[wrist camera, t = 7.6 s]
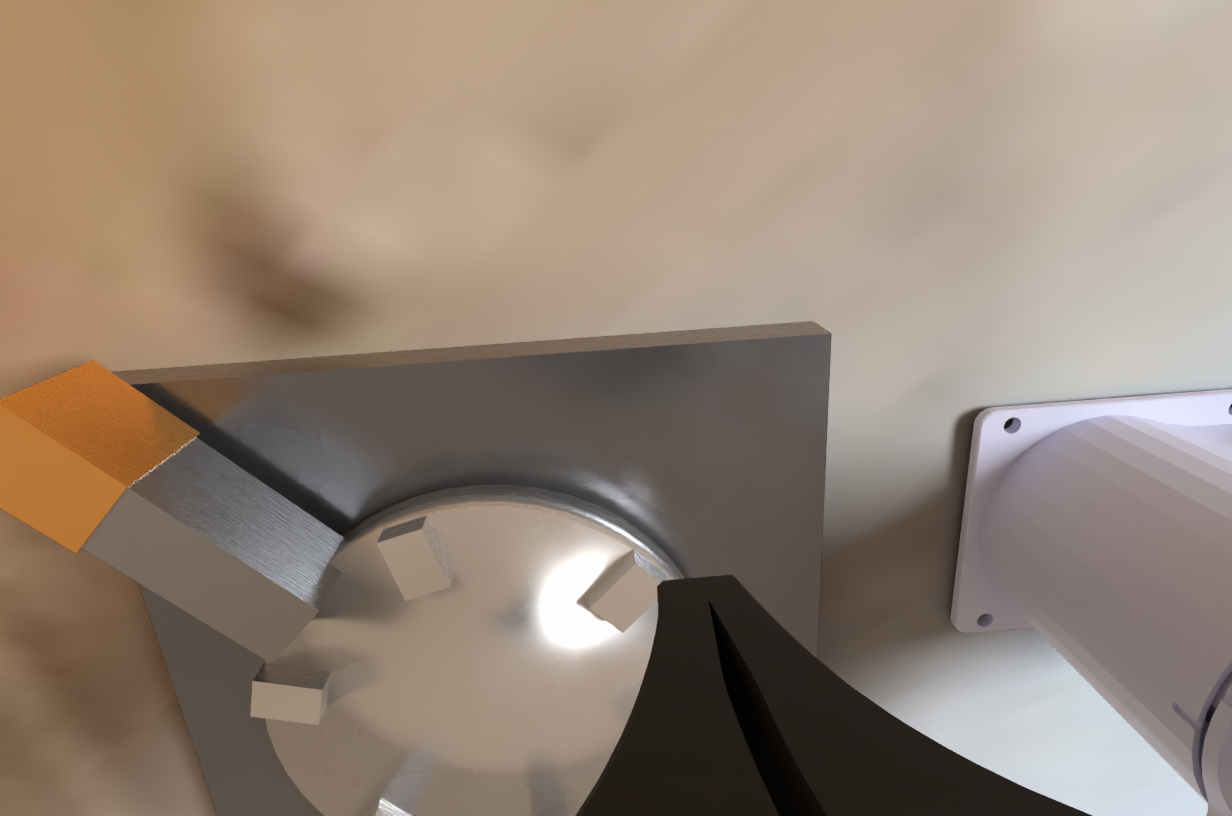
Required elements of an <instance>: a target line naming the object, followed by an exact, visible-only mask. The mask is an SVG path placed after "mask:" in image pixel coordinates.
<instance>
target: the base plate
mask: <svg viewBox="0 0 1232 816" xmlns="http://www.w3.org/2000/svg"><path fill="white" fill-rule="evenodd" d="M830 355H831V333H830V332H828V331H827V330H825V329H824V328H823V327H821V326H820V325H818V324H817V323H815V322H814V321H813V322H799V323H785V324H771V325H758V326H744V327H730V328H716V329H702V330H688V331H675V332H661V333H647V334H633V335H619V336H605V337H592V338H578V339H564V340H550V341H536V342H522V343H509V344H495V345H481V346H467V347H453V348H439V349H426V350H412V351H398V352H384V353H370V354H356V355H342V356H329V357H315V358H301V359H287V360H273V361H259V362H246V363H232V364H218V365H204V366H190V367H176V368H163V369H149V370H135V371H121V372H112V373H113V374H114V375H116V376H117V377H119V378H120V379H122V380H123V381H125V382H126V383H128V384H129V385H131V386H132V387H133V388H135V389H136V390H138V391H139V392H141V393H142V394H144V395H145V396H147V397H148V398H150V399H151V400H152V401H154V402H155V403H157V404H158V405H160V406H161V407H163V408H164V409H166V410H167V411H169V412H170V413H171V414H173V415H174V416H176V417H177V418H179V419H180V420H182V421H183V422H185V423H186V424H188V425H189V426H190V427H192V428H193V429H195V430H196V431H198V432H199V433H200V434H199V436H198V437H197V438H198V439H200V440H201V441H202V442H204V443H205V444H207V445H208V446H210V447H211V448H213V449H214V450H216V451H217V452H219V453H220V454H222V455H223V456H224V457H226V458H227V459H229V460H230V461H232V462H233V463H235V464H236V465H238V466H239V467H241V468H242V469H244V470H245V471H246V472H248V473H249V474H251V475H252V476H254V477H255V478H257V479H258V480H260V481H261V482H263V483H264V484H266V485H267V486H268V487H270V488H271V489H273V490H274V491H276V492H277V493H279V494H280V495H282V496H283V497H285V498H286V499H288V500H289V501H291V502H292V503H293V504H295V505H296V506H298V507H299V508H301V509H302V510H304V511H305V512H307V513H308V514H310V515H311V516H313V517H314V518H315V519H317V520H318V521H320V522H321V523H323V524H324V525H326V526H327V527H329V528H330V529H332V530H333V531H335V532H336V533H337V534H339V535H340V536H342V537H343V536H344V535H345V534H347V533H348V532H350V531H351V530H352V529H354V528H355V527H356V526H358V525H359V524H360V523H362V522H363V521H365V520H366V519H368V518H370V517H372V516H374V515H376V514H377V513H379V512H381V511H383V510H385V509H387V508H388V507H390V506H393V505H396V504H398V503H401V502H403V501H406V500H409V499H411V498H414V497H416V496H420V495H424V494H428V493H432V492H436V491H440V490H443V489H448V488H456V487H464V486H472V485H517V486H526V487H535V488H541V489H546V490H550V491H554V492H559V493H563V494H567V495H570V496H573V497H576V498H579V499H581V500H584V501H587V502H590V503H592V504H595V505H597V506H599V507H601V508H603V509H605V510H607V511H609V512H611V513H613V514H615V515H617V516H619V517H621V518H622V519H624V520H625V521H627V522H628V523H630V524H631V525H633V526H634V527H636V528H637V529H639V530H640V531H641V532H643V533H644V534H646V535H647V536H648V537H649V538H650V539H651V540H652V541H653V542H654V543H655V544H657V545H658V546H659V547H660V548H661V549H662V550H663V551H664V552H665V553H666V554H667V555H668V556H669V558H670V559H671V560H672V561H673V563H674V564H675V565H676V566H677V567H678V569H679V570H680V571H681V572H682V574H683V576H684V577H685V579H686V578H698V577H710V576H722V575H733V576H734V577H735V578H737V579H738V580H739V581H740V582H741V584H742V585H743V586H744V587H745V588H746V589H747V590H748V591H749V592H750V593H751V594H752V596H753V597H754V598H755V599H756V600H757V601H758V602H759V603H760V604H761V605H762V606H763V607H764V608H765V609H766V610H767V611H768V612H769V613H770V614H771V615H772V616H773V618H774V619H775V620H776V621H778V622H779V623H780V624H781V625H782V626H783V627H784V628H785V629H786V630H787V631H788V632H789V633H790V634H791V635H792V636H793V637H794V638H795V639H796V640H797V641H798V642H799V643H801V644H802V645H803V646H804V647H805V648H806V649H807V650H808V651H809V652H810V653H811V654H813V655H814V656H815V657H816V658H817V646H818V624H819V602H820V579H821V557H822V534H823V512H824V489H825V467H826V445H827V422H828V400H829V377H830ZM138 584H139V583H138ZM139 587H140V590H141V592H142V595H143V598H144V601H145V604H146V607H147V610H148V613H149V616H150V619H151V622H152V625H153V628H154V631H155V634H156V637H157V640H158V643H159V646H160V649H161V652H162V655H163V658H164V661H165V663H166V666H167V669H168V672H169V675H170V678H171V681H172V684H173V687H174V690H175V693H176V696H177V699H178V702H179V705H180V708H181V711H182V714H183V717H184V720H185V723H186V726H187V729H188V731H189V734H190V737H191V740H192V743H193V746H194V749H195V752H196V755H197V758H198V761H199V764H200V767H201V770H202V773H203V776H204V779H205V782H206V785H207V788H208V791H209V794H210V797H211V800H212V802H213V805H214V808H215V811H216V814H217V816H324V815H323V814H322V813H321V812H319V811H318V810H317V809H316V808H315V806H314V805H313V804H312V803H311V802H310V801H309V800H308V799H307V798H306V797H305V796H304V795H303V794H302V793H301V792H300V790H299V789H298V788H297V786H296V785H295V784H294V782H293V781H292V780H291V778H290V777H289V776H288V774H287V773H286V771H285V769H284V767H283V765H282V763H281V761H280V760H279V758H278V756H277V754H276V752H275V750H274V747H273V744H272V741H271V738H270V736H269V733H268V730H267V725H266V720H265V718H258V717H250V713H251V697H252V681H253V679H254V678H255V676H256V674H257V673H258V671H259V670H260V668H261V666H262V665H263V663H265V659H263V658H262V657H260V656H258V655H257V654H255V653H253V652H252V651H250V650H248V649H247V648H245V647H244V646H242V645H240V644H239V643H237V642H235V641H234V640H232V639H230V638H229V637H227V636H225V635H224V634H222V633H220V632H219V631H217V630H215V629H214V628H212V627H210V626H209V625H207V624H206V623H204V622H202V621H201V620H199V619H197V618H196V617H194V616H192V615H191V614H189V613H187V612H186V611H184V610H182V609H181V608H179V607H177V606H176V605H174V604H172V603H171V602H169V601H167V600H166V599H164V598H163V597H161V596H159V595H158V594H156V593H154V592H153V591H151V590H149V589H148V588H146V587H144V586H143V585H141V584H139Z"/></svg>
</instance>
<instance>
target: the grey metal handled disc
mask: <svg viewBox="0 0 1232 816" xmlns="http://www.w3.org/2000/svg"><path fill="white" fill-rule="evenodd" d="M199 434H200V433H199V432H198V431H196V430H195V429H193V428H192V427H190V426H189V425H188V424H186V423H185V422H183V421H182V420H180V419H179V418H177V417H176V416H174V415H173V414H171V413H170V412H169V411H167V410H166V409H164V408H163V407H161V406H160V405H158V404H157V403H155V402H154V401H152V400H151V399H150V398H148V397H147V396H145V395H144V394H142V393H141V392H139V391H138V390H136V389H135V388H133V387H132V386H131V385H129V384H128V383H126V382H125V381H123V380H122V379H120V378H119V377H117V376H116V375H114V374H113V373H112V372H110V371H109V370H107V369H106V368H104V367H103V366H101V365H100V364H98V363H97V362H95V361H94V360H93V361H90V362H88V363H86V364H83V365H81V366H78V367H76V368H74V369H71V370H69V371H66V372H64V373H62V374H59V375H57V376H54V377H52V378H49V379H47V380H45V381H42V382H40V383H37V384H35V385H33V386H30V387H28V388H25V389H23V390H21V391H18V392H16V393H13V394H11V395H9V396H6V397H4V398H1V399H0V508H1V509H3V510H4V511H6V512H8V513H9V514H11V515H13V516H14V517H16V518H18V519H19V520H21V521H23V522H24V523H26V524H28V525H29V526H31V527H33V528H34V529H36V530H38V531H39V532H41V533H43V534H44V535H46V536H48V537H49V538H51V539H53V540H54V541H56V542H58V543H59V544H61V545H63V546H64V547H66V548H68V549H69V550H71V551H73V552H74V553H77V552H78V551H80V550H81V549H83V550H85V551H87V552H88V553H90V554H91V555H93V556H95V557H96V558H98V559H100V560H101V561H103V562H105V563H106V564H108V565H110V566H111V567H113V568H115V569H116V570H118V571H120V572H121V573H123V574H125V575H126V576H128V577H129V578H131V579H133V580H134V581H136V582H138V583H139V584H141V585H143V586H144V587H146V588H148V589H149V590H151V591H153V592H154V593H156V594H158V595H159V596H161V597H163V598H164V599H166V600H167V601H169V602H171V603H172V604H174V605H176V606H177V607H179V608H181V609H182V610H184V611H186V612H187V613H189V614H191V615H192V616H194V617H196V618H197V619H199V620H201V621H202V622H204V623H206V624H207V625H209V626H210V627H212V628H214V629H215V630H217V631H219V632H220V633H222V634H224V635H225V636H227V637H229V638H230V639H232V640H234V641H235V642H237V643H239V644H240V645H242V646H244V647H245V648H247V649H248V650H250V651H252V652H253V653H255V654H257V655H258V656H260V657H262V658H263V659H265V663H263V665H262V666H261V668H260V670H259V671H258V673H257V674H256V676H255V678H254V679H253V681H252V697H251V713H250V717H258V718H265V720H266V725H267V730H268V733H269V736H270V738H271V741H272V744H273V747H274V750H275V752H276V754H277V756H278V758H279V760H280V761H281V763H282V765H283V767H284V769H285V771H286V773H287V774H288V776H289V777H290V778H291V780H292V781H293V782H294V784H295V785H296V786H297V788H298V789H299V790H300V792H301V793H302V794H303V795H304V796H305V797H306V798H307V799H308V800H309V801H310V802H311V803H312V804H313V805H314V806H315V808H316V809H317V810H318V811H319V812H321V813H322V814H323V815H324V816H576V814H577V813H578V811H579V809H580V808H581V806H582V805H583V803H584V802H585V800H586V798H587V797H588V795H589V794H590V792H591V791H592V789H593V787H594V786H595V784H596V783H597V781H598V779H599V777H600V776H601V774H602V772H603V770H604V768H605V766H606V765H607V763H608V761H609V759H610V757H611V755H612V753H613V751H614V749H615V747H616V745H617V743H618V741H619V739H620V737H621V735H622V732H623V730H624V728H625V726H626V723H627V721H628V719H629V716H630V714H631V711H632V709H633V706H634V704H635V701H636V699H637V696H638V693H639V690H640V687H641V684H642V681H643V678H644V674H645V671H646V668H647V665H648V662H649V658H650V654H651V650H652V645H653V641H654V636H655V632H656V626H657V619H658V600H657V586H658V585H659V584H660V583H661V582H662V581H663V580H674V579H685V577H684V576H683V574H682V572H681V571H680V570H679V569H678V567H677V566H676V565H675V564H674V563H673V561H672V560H671V559H670V558H669V556H668V555H667V554H666V553H665V552H664V551H663V550H662V549H661V548H660V547H659V546H658V545H657V544H655V543H654V542H653V541H652V540H651V539H650V538H649V537H648V536H647V535H646V534H644V533H643V532H641V531H640V530H639V529H637V528H636V527H634V526H633V525H631V524H630V523H628V522H627V521H625V520H624V519H622V518H621V517H619V516H617V515H615V514H613V513H611V512H609V511H607V510H605V509H603V508H601V507H599V506H597V505H595V504H592V503H590V502H587V501H584V500H581V499H579V498H576V497H573V496H570V495H567V494H563V493H559V492H554V491H550V490H546V489H541V488H535V487H526V486H517V485H472V486H464V487H456V488H448V489H443V490H440V491H436V492H432V493H428V494H424V495H420V496H416V497H414V498H411V499H409V500H406V501H403V502H401V503H398V504H396V505H393V506H390V507H388V508H387V509H385V510H383V511H381V512H379V513H377V514H376V515H374V516H372V517H370V518H368V519H366V520H365V521H363V522H362V523H360V524H359V525H358V526H356V527H355V528H354V529H352V530H351V531H350V532H348V533H347V534H345V535H344V536H343V537H342V536H340V535H339V534H337V533H336V532H335V531H333V530H332V529H330V528H329V527H327V526H326V525H324V524H323V523H321V522H320V521H318V520H317V519H315V518H314V517H313V516H311V515H310V514H308V513H307V512H305V511H304V510H302V509H301V508H299V507H298V506H296V505H295V504H293V503H292V502H291V501H289V500H288V499H286V498H285V497H283V496H282V495H280V494H279V493H277V492H276V491H274V490H273V489H271V488H270V487H268V486H267V485H266V484H264V483H263V482H261V481H260V480H258V479H257V478H255V477H254V476H252V475H251V474H249V473H248V472H246V471H245V470H244V469H242V468H241V467H239V466H238V465H236V464H235V463H233V462H232V461H230V460H229V459H227V458H226V457H224V456H223V455H222V454H220V453H219V452H217V451H216V450H214V449H213V448H211V447H210V446H208V445H207V444H205V443H204V442H202V441H201V440H200V439H198V438H197V437H198V436H199Z"/></svg>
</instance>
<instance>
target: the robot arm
mask: <svg viewBox="0 0 1232 816" xmlns="http://www.w3.org/2000/svg"><path fill="white" fill-rule="evenodd" d="M1231 404H1232V389H1224V390H1211V391H1198V392H1185V393H1172V394H1159V395H1146V396H1133V397H1120V398H1107V399H1094V400H1081V401H1068V402H1055V403H1042V404H1029V405H1016V406H1003V407H991V408H987V409H985V410H983V411H982V412H980V413H979V414H978V416H977V417H976V419H975V422H974V426H973V434H972V443H971V451H970V459H969V468H968V476H967V484H966V493H965V501H964V509H963V518H962V526H961V534H960V543H959V551H958V559H957V568H956V576H955V584H954V593H953V601H952V609H951V622H952V623H953V624H954V626H955V627H956V628H957V629H958V630H959V631H961V632H962V633H975V632H986V631H998V630H1009V629H1020V628H1032V627H1034V628H1035V629H1036V630H1037V631H1038V632H1039V633H1040V634H1041V635H1042V636H1043V637H1044V638H1045V639H1046V640H1047V641H1048V642H1049V643H1050V644H1051V645H1052V646H1053V647H1054V648H1055V649H1056V650H1057V651H1058V652H1059V653H1060V654H1061V655H1062V656H1063V657H1064V658H1065V659H1066V660H1067V661H1068V662H1069V663H1070V664H1071V665H1072V666H1073V667H1074V668H1075V670H1076V671H1077V672H1078V673H1079V674H1080V675H1081V676H1082V677H1083V678H1084V679H1085V680H1086V681H1087V682H1088V683H1089V684H1090V685H1091V686H1092V687H1093V688H1094V689H1095V690H1096V691H1097V692H1098V693H1099V694H1100V695H1101V696H1102V697H1103V698H1104V699H1105V700H1106V701H1107V702H1108V703H1109V704H1110V705H1111V706H1112V707H1113V708H1114V709H1115V710H1116V711H1117V712H1118V713H1119V714H1120V715H1121V716H1122V717H1123V718H1124V719H1125V720H1126V721H1127V722H1128V723H1129V724H1130V725H1131V726H1132V727H1133V728H1134V729H1135V730H1136V731H1137V732H1138V733H1139V734H1140V735H1141V736H1142V737H1143V738H1144V740H1145V741H1146V742H1147V743H1148V744H1149V745H1150V746H1151V747H1152V748H1153V749H1154V750H1155V751H1156V752H1157V753H1158V754H1159V755H1160V756H1161V757H1162V758H1163V759H1164V760H1165V761H1166V762H1167V763H1168V764H1169V765H1170V766H1171V767H1172V768H1173V769H1174V770H1175V771H1176V772H1177V773H1178V774H1179V775H1180V776H1181V777H1182V778H1183V779H1184V780H1185V781H1186V782H1187V783H1188V784H1189V785H1190V786H1191V787H1192V788H1193V789H1194V790H1195V791H1196V792H1197V793H1198V794H1199V795H1200V796H1201V797H1202V798H1203V799H1204V800H1205V801H1206V802H1207V803H1208V812H1207V815H1206V816H1232V408H1231V409H1229V407H1230V405H1231ZM1010 418H1013V422H1012V425H1011V426H1009V427H1008V428H1006V429H1004V424H1005V422H1006V421H1007V420H1008V419H1010ZM657 600H658V619H657V626H656V632H655V636H654V641H653V645H652V650H651V654H650V658H649V662H648V665H647V668H646V671H645V674H644V678H643V681H642V684H641V687H640V690H639V693H638V696H637V699H636V701H635V704H634V706H633V709H632V711H631V714H630V716H629V719H628V721H627V723H626V726H625V728H624V730H623V732H622V735H621V737H620V739H619V741H618V743H617V745H616V747H615V749H614V751H613V753H612V755H611V757H610V759H609V761H608V763H607V765H606V766H605V768H604V770H603V772H602V774H601V776H600V777H599V779H598V781H597V783H596V784H595V786H594V787H593V789H592V791H591V792H590V794H589V795H588V797H587V798H586V800H585V802H584V803H583V805H582V806H581V808H580V809H579V811H578V813H577V814H576V816H1092V815H1089V814H1087V813H1085V812H1082V811H1080V810H1077V809H1075V808H1073V807H1070V806H1068V805H1065V804H1063V803H1061V802H1058V801H1056V800H1053V799H1051V798H1048V797H1046V796H1044V795H1041V794H1039V793H1036V792H1034V791H1032V790H1029V789H1027V788H1025V787H1023V786H1021V785H1018V784H1016V783H1014V782H1012V781H1010V780H1008V779H1006V778H1004V777H1002V776H1000V775H998V774H996V773H994V772H992V771H990V770H988V769H986V768H984V767H982V766H980V765H977V764H976V763H974V762H972V761H970V760H968V759H966V758H964V757H962V756H961V755H959V754H957V753H955V752H953V751H951V750H949V749H948V748H946V747H944V746H942V745H941V744H939V743H937V742H936V741H934V740H932V739H930V738H929V737H927V736H925V735H924V734H922V733H920V732H919V731H917V730H915V729H913V728H912V727H910V726H908V725H907V724H905V723H904V722H902V721H901V720H899V719H897V718H896V717H894V716H893V715H891V714H890V713H888V712H887V711H885V710H884V709H882V708H881V707H880V706H878V705H877V704H875V703H874V702H872V701H871V700H870V699H868V698H867V697H865V696H864V695H862V694H861V693H860V692H858V691H857V690H855V689H854V688H853V687H851V686H850V685H849V684H847V683H846V682H845V681H843V680H842V679H841V678H840V677H838V676H837V675H836V674H835V673H834V672H832V671H831V670H830V669H829V668H828V667H826V666H825V665H824V664H823V663H822V662H821V661H819V660H818V659H817V658H816V657H815V656H814V655H813V654H811V653H810V652H809V651H808V650H807V649H806V648H805V647H804V646H803V645H802V644H801V643H799V642H798V641H797V640H796V639H795V638H794V637H793V636H792V635H791V634H790V633H789V632H788V631H787V630H786V629H785V628H784V627H783V626H782V625H781V624H780V623H779V622H778V621H776V620H775V619H774V618H773V616H772V615H771V614H770V613H769V612H768V611H767V610H766V609H765V608H764V607H763V606H762V605H761V604H760V603H759V602H758V601H757V600H756V599H755V598H754V597H753V596H752V594H751V593H750V592H749V591H748V590H747V589H746V588H745V587H744V586H743V585H742V584H741V582H740V581H739V580H738V579H737V578H735V577H734V576H733V575H722V576H710V577H698V578H686V579H674V580H663V581H662V582H661V583H660V584H659V585H658V586H657ZM983 614H986V615H985V616H984V617H983V618H982V619H978V618H979V617H980V616H981V615H983Z"/></svg>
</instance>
